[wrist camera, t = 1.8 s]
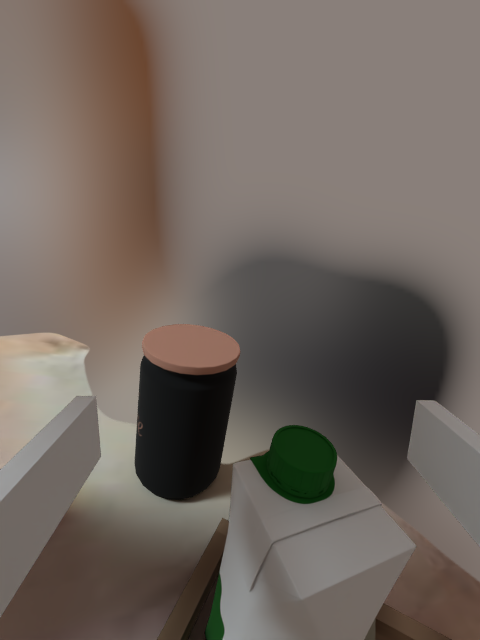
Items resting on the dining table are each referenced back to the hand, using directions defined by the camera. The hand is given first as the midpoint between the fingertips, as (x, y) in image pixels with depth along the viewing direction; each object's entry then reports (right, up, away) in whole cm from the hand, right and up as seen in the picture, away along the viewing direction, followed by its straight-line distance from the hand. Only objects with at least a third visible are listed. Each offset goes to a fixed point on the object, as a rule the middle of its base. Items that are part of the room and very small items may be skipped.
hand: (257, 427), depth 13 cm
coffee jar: (-9, -15, +28) cm, 33 cm away
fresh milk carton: (+1, -23, +12) cm, 26 cm away
